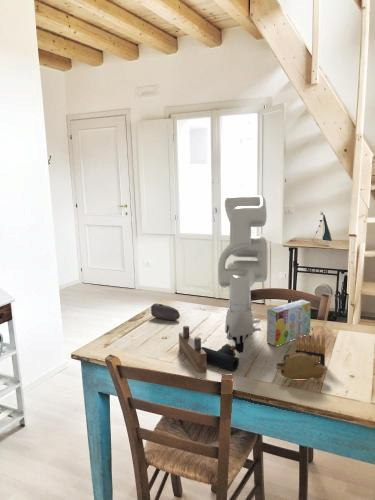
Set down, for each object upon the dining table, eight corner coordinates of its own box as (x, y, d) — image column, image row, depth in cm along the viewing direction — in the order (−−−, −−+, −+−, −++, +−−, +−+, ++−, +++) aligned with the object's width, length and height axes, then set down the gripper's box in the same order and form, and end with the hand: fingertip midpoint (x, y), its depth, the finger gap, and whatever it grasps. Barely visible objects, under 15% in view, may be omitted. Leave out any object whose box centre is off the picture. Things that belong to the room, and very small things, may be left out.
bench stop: (186, 348, 164) (185, 322, 162) (206, 371, 145) (206, 342, 143) (179, 349, 163) (178, 323, 161) (198, 373, 144) (198, 344, 142)
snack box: (300, 331, 180) (301, 298, 177) (310, 335, 175) (312, 302, 173) (266, 343, 168) (266, 308, 166) (275, 347, 164) (276, 312, 161)
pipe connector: (214, 338, 161) (247, 348, 151) (215, 351, 162) (247, 361, 153) (197, 349, 152) (231, 360, 143) (197, 362, 153) (231, 374, 144)
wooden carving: (321, 375, 141) (322, 348, 139) (325, 382, 137) (327, 354, 135) (274, 376, 141) (275, 349, 139) (277, 383, 136) (278, 355, 135)
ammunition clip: (294, 362, 151) (295, 332, 148) (294, 360, 152) (295, 330, 150) (324, 367, 147) (326, 336, 145) (324, 365, 149) (326, 334, 146)
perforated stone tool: (182, 319, 196) (182, 305, 195) (177, 323, 192) (176, 309, 191) (155, 315, 203) (155, 301, 202) (150, 318, 199) (149, 305, 197)
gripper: (251, 300, 159) (250, 344, 163) (217, 306, 153) (217, 351, 157) (262, 306, 152) (261, 351, 156) (227, 312, 147) (226, 359, 150)
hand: (239, 351), depth 157 cm, fingers closed
